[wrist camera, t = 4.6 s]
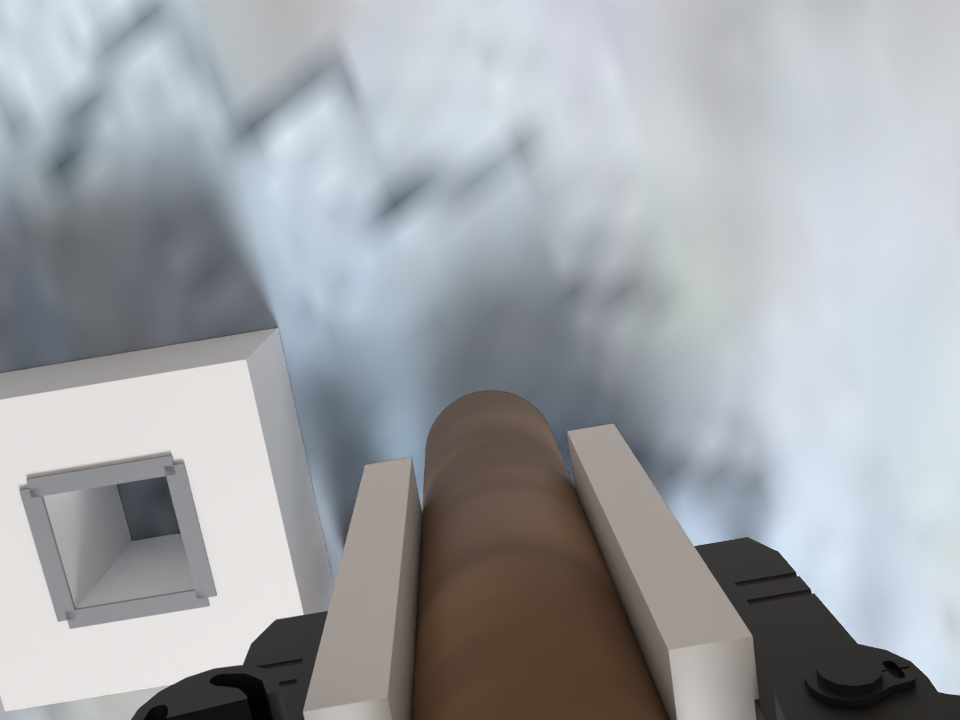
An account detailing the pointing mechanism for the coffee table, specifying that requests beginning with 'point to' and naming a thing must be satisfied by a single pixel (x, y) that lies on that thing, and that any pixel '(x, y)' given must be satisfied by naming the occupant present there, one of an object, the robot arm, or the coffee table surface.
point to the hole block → (160, 560)
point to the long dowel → (516, 581)
